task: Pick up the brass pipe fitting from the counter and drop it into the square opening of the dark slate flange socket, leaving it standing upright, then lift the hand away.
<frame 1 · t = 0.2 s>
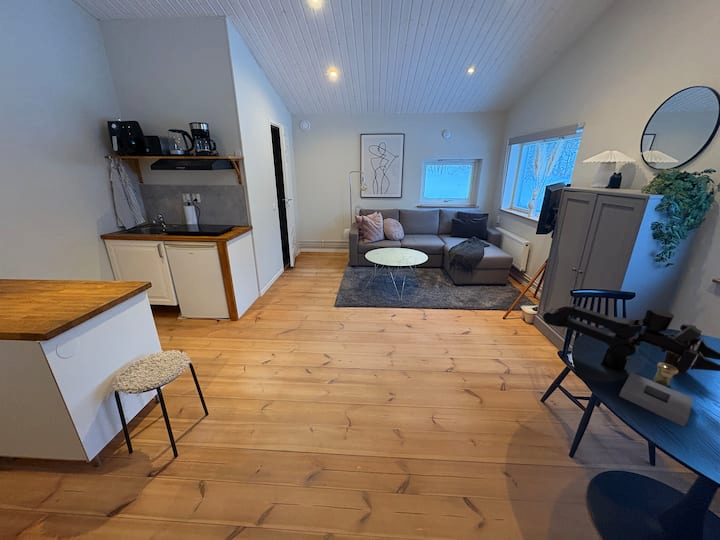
flange socket: (653, 400, 100), on the table
brass fitting: (660, 382, 108), on the table
coffee mug: (670, 368, 116), on the table
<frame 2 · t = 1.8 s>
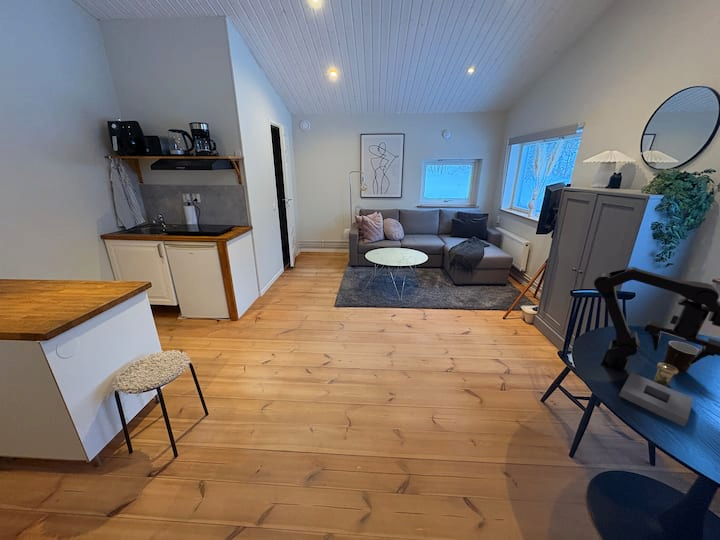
hand: (672, 356, 104), 12 cm above the table, tool pointing down, fingers open, 9 cm apart
nothing on the table moved.
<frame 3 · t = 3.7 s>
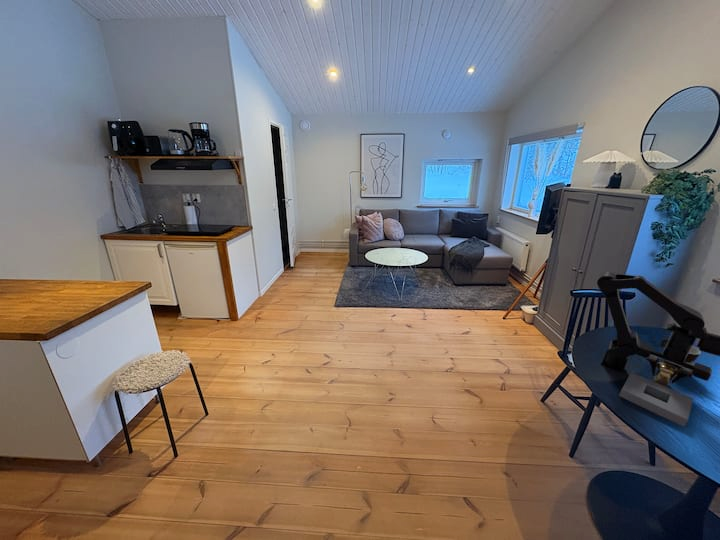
hand: (662, 379, 108), 2 cm above the table, tool pointing down, fingers closed on brass fitting, 5 cm apart
brass fitting: (660, 382, 108), on the table, touching gripper
everything else where it was.
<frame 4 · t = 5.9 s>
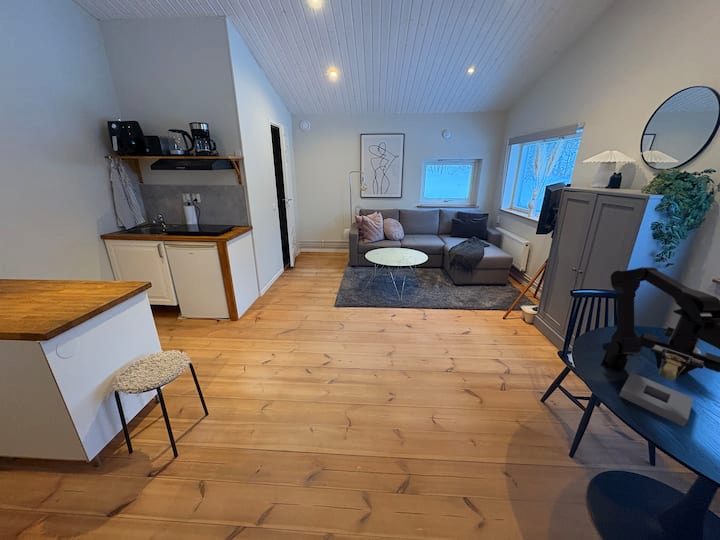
hand: (668, 372, 97), 12 cm above the table, tool pointing down, fingers closed on brass fitting, 5 cm apart
brass fitting: (666, 375, 97), point 10 cm above the table, touching gripper
everything else where it was.
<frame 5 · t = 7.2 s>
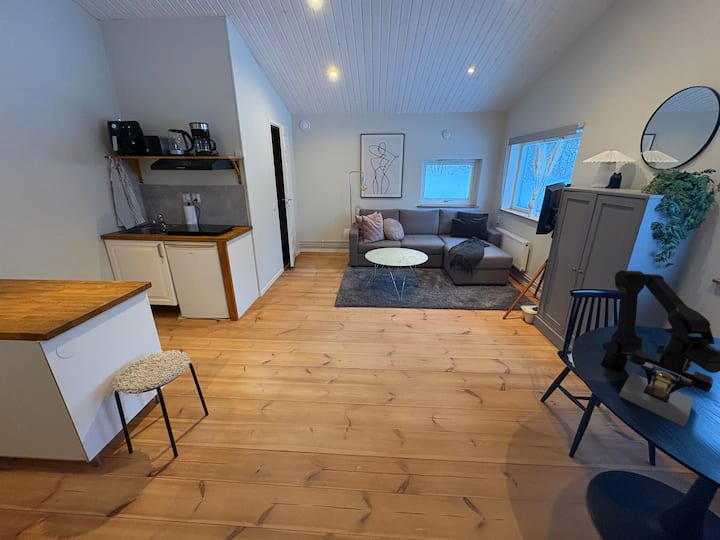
hand: (658, 388, 99), 5 cm above the table, tool pointing down, fingers closed on brass fitting, 5 cm apart
brass fitting: (657, 392, 99), point 3 cm above the table, touching gripper
everything else where it was.
when the fingers open (4 cm above the table, at t = 8.2 s): brass fitting drops 2 cm, resting in flange socket.
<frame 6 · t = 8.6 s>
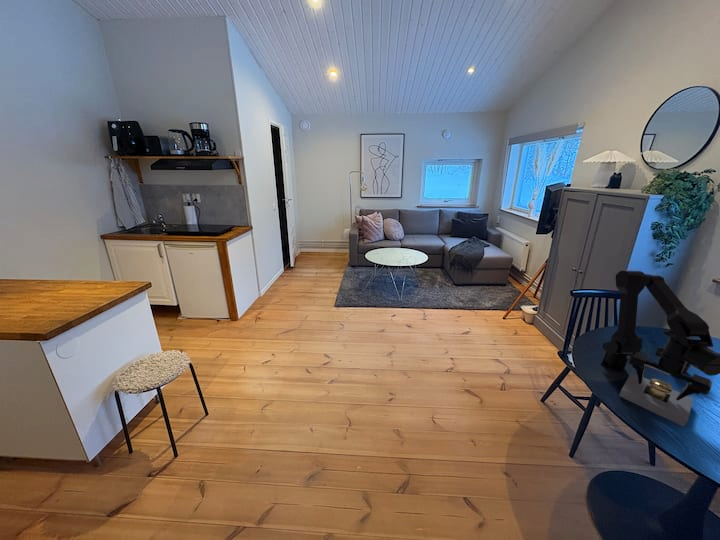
hand: (657, 391, 99), 4 cm above the table, tool pointing down, fingers open, 9 cm apart
brass fitting: (653, 400, 100), resting in flange socket
everything else where it was.
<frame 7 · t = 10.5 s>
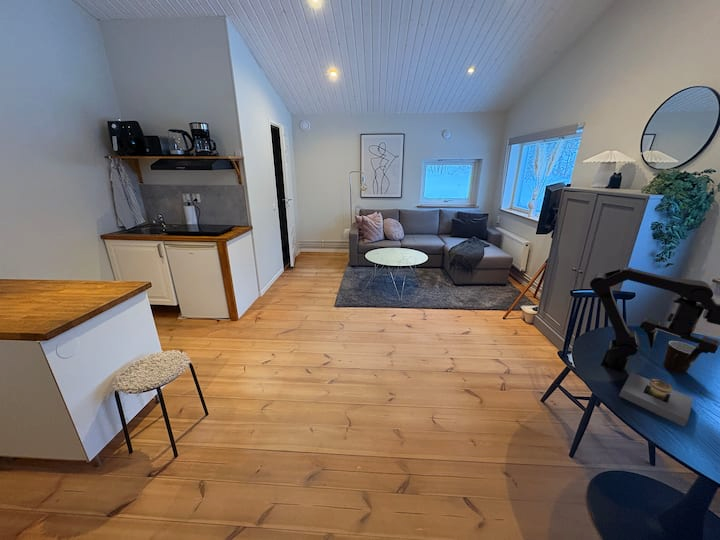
hand: (668, 354, 105), 12 cm above the table, tool pointing down, fingers open, 9 cm apart
nothing on the table moved.
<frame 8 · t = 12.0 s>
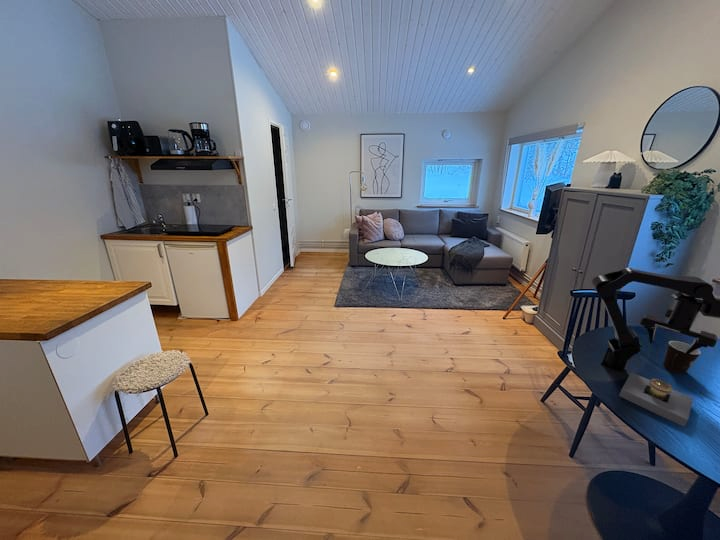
hand: (667, 349, 108), 12 cm above the table, tool pointing down, fingers open, 9 cm apart
nothing on the table moved.
at the end: brass fitting 0.1 cm off-centre on the flange socket, point 0.0 cm above the flange socket's base; brass fitting tilted 0°; the gripper is holding nothing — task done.
